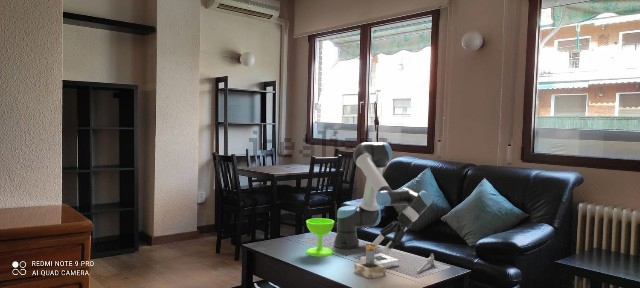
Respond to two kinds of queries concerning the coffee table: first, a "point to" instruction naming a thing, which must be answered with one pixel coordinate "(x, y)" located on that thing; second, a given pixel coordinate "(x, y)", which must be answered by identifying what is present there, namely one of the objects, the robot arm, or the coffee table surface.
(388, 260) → the socket block
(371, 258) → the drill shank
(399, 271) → the coffee table surface
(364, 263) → the tan open tray
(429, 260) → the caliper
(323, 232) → the wineglass
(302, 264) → the coffee table surface
